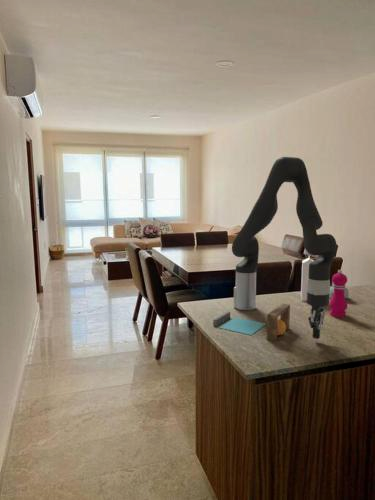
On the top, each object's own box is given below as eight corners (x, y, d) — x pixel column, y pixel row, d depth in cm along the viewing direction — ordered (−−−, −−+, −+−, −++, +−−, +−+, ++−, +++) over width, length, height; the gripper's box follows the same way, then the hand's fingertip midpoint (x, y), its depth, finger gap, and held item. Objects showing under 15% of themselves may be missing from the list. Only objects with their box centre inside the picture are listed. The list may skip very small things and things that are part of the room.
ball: (264, 325, 140) (277, 318, 137) (269, 321, 145) (282, 314, 142) (273, 339, 138) (286, 333, 136) (278, 335, 144) (291, 328, 141)
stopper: (213, 325, 151) (213, 319, 150) (227, 317, 160) (227, 311, 160) (215, 326, 150) (215, 320, 150) (230, 317, 160) (230, 312, 159)
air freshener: (327, 295, 192) (328, 276, 190) (344, 295, 190) (345, 276, 189) (331, 301, 181) (332, 281, 180) (349, 302, 180) (350, 281, 178)
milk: (301, 301, 182) (302, 256, 179) (300, 297, 188) (302, 254, 185) (314, 301, 181) (316, 256, 177) (313, 298, 187) (315, 254, 183)
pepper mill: (325, 312, 165) (328, 268, 161) (341, 312, 165) (344, 267, 162) (333, 318, 158) (336, 271, 154) (350, 317, 158) (352, 271, 155)
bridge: (266, 339, 136) (267, 314, 135) (281, 326, 148) (282, 303, 147) (274, 341, 135) (275, 315, 133) (289, 328, 147) (290, 304, 145)
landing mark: (218, 327, 148) (218, 327, 148) (235, 317, 160) (235, 317, 160) (251, 335, 140) (251, 334, 140) (266, 324, 152) (266, 323, 152)
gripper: (313, 285, 138) (311, 330, 141) (301, 293, 127) (299, 342, 130) (334, 288, 134) (331, 334, 137) (324, 297, 123) (321, 346, 126)
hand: (316, 337), depth 133 cm, fingers closed
